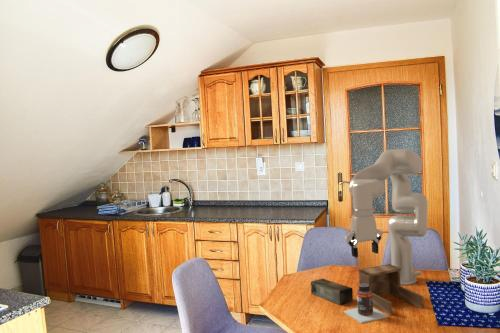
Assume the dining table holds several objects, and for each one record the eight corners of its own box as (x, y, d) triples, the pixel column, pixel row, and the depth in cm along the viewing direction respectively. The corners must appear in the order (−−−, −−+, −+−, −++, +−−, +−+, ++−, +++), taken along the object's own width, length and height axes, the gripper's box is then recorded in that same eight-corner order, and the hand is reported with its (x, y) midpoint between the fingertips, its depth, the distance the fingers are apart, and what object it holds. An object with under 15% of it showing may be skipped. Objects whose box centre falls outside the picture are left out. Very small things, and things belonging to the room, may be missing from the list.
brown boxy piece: (390, 292, 193) (389, 264, 192) (422, 307, 174) (421, 276, 174) (360, 298, 188) (358, 269, 187) (390, 315, 169) (388, 282, 168)
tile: (368, 306, 178) (368, 305, 178) (387, 317, 167) (387, 315, 167) (343, 312, 174) (343, 310, 174) (361, 323, 163) (361, 321, 163)
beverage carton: (323, 290, 202) (323, 276, 201) (354, 301, 185) (353, 286, 185) (310, 294, 197) (309, 280, 197) (340, 306, 181) (340, 291, 181)
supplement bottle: (373, 310, 173) (372, 282, 172) (372, 316, 167) (371, 287, 166) (358, 309, 175) (357, 282, 174) (356, 315, 169) (355, 287, 168)
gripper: (375, 208, 179) (377, 249, 181) (339, 214, 173) (341, 256, 174) (387, 211, 172) (388, 253, 173) (350, 217, 166) (352, 260, 167)
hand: (365, 254), depth 174 cm, fingers open, 9 cm apart
